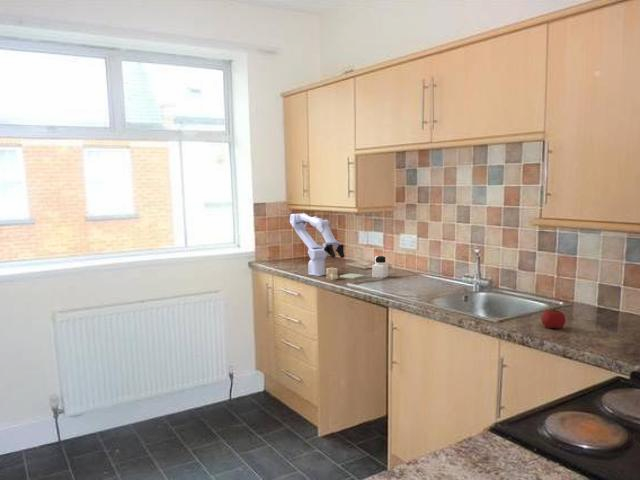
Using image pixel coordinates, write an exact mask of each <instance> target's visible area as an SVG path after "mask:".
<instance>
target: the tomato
mask: <svg viewBox="0 0 640 480" xmlns="http://www.w3.org/2000/svg"><path fill="white" fill-rule="evenodd" d="M540 319H541V323H542V324H543V326H544V327H545V328H548V329H553V328H555V330H557V329H558V328H559V329H561V328H563V327H564V326H565V324H566V316H565V314H564V313H563V312H562V311H561V310H557V309H556V308H553V309H552V308H551V309H547V310H545V311H544V312H543V313H542V314H541V318H540Z"/></svg>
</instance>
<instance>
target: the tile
mask: <svg viewBox="0 0 640 480" xmlns="http://www.w3.org/2000/svg"><path fill="white" fill-rule="evenodd" d="M363 277H365V275H364V274H360V273H346V274H342V275H341V274H340V275H339V278H343V279H344V278H345V279H349V280H350V279H353V280H355V279H359V278H363Z"/></svg>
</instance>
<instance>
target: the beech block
mask: <svg viewBox="0 0 640 480" xmlns="http://www.w3.org/2000/svg"><path fill="white" fill-rule="evenodd" d="M325 269H326V272H325V273H326V275H325V277H326V280H330V281H333V280H337V279H338V273H339V272H338V267H337V268H336V267H329V268H328V267H327V268H325Z"/></svg>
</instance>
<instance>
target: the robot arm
mask: <svg viewBox="0 0 640 480" xmlns="http://www.w3.org/2000/svg"><path fill="white" fill-rule="evenodd" d="M308 223H309V224H310V225H311V226H312V227H313V228H316V230H317V231H319V233H320V234H321V236H322V237H323V239H324V241H325V242H324V243H323V244H322V245H320V244H317V243H316V242H315V240H314V239H313V237H311V235H310V234H309V233H308V231H307V230H306V228H307V224H308ZM289 224H290V225H291V226H292V227H293V228H294V231H295V233H296V234H297V236H298V237H299V238H300V239H301V241H302V242H303V244H305V246H306V247H307V249H308V250H307V254H308V256H309V259H310V260H308V263H307V264H308V265H307V266H308V270H307V271H308V273H307V275H311V276H316V277H321V276H324V275H325V276H326V272H325V260H326V258H327V256H328V255H329V256H330V257H331V258H332V259H334V258H336V254H335V252H337V254H338V256H339V257H340V258H341V259H344V257H345V253H344V249H345V247H344V246H345V245H344V244H342V243H340V242H338V239H336V238H335V235H334V234H333V231H332V230H331V226H330V225H331V223H330V220H328V219H323V218H322V217H321V218H319V217H318V216H317V215H315V216H310V215H308V214H307V213H305V212H303V213H291V214H290V215H289ZM334 248H336V249H335V251H334Z"/></svg>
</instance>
